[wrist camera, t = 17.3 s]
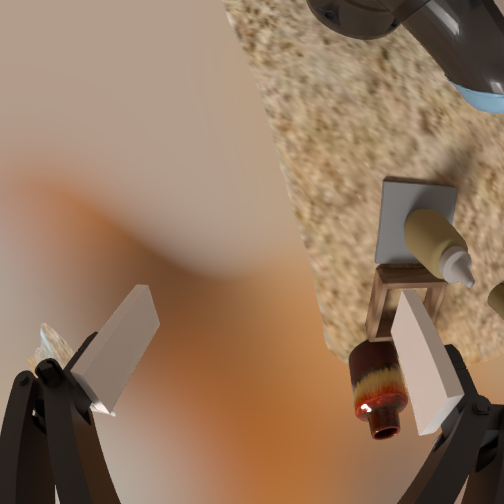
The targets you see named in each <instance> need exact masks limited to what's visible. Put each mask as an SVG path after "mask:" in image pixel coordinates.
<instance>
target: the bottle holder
mask: <svg viewBox="0 0 504 504" xmlns="http://www.w3.org/2000/svg"><path fill="white" fill-rule="evenodd" d="M447 284H448V282H447V281H446V280H445V279H439V278H437V277H435V276H434V275H433V274H432V273H431V272H430V271H429V270H428V269H427V268H376V271H375V277H374V283H373V288H372V293H371V299H370V304H369V309H368V313H367V318H366V322H365V327H366V331H367V335H368V339H369V342H379V341H394V340H393V337H392V334H391V329H392V325H393V322H394V320H381V321H380V318H381V314H382V310H383V306H384V302H385V297H386V293H387V289H399V288H428V289H427V293H426V296H425V300H424V303H423V305H424V307H425V309H426V311H427V313H428V314H429V316H430V318H431V320H432V322H433V324H434V322H435V320H436V317H437V314H438V311H439V309H440V306H441V303H442V300H443V297H444V294H445V290H446V287H447Z"/></svg>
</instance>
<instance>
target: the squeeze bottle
mask: <svg viewBox="0 0 504 504" xmlns="http://www.w3.org/2000/svg"><path fill="white" fill-rule="evenodd" d="M404 234H405V244H406V246H407V248H408V250H409V251H410V252H411V253H412V254H413V255H414V256H415V257H416V258H417V259H418V260H419V261H420V262H421V263H422V264H423V265H424V266H425V267H426V268H427V269H428V270H429V271H430V272H431V273H432V274H433V275H434V276H435V277H437V278H439V279H445V280H446V281H447V282H448V283H457V282H461V283H462V284H464V285H465V286H467V287H468V288H471V287H472V286H473V285H474V283H475V281H474V278H473V276H472V274H471V272H470V268H471V257H470V255H469V254H468V247H467V245H466V242H465V240H464V239H463V238H462V237H461V235H460V234H459V233H458V232H457V231H456V229H455V228H454V227H453V226H452V225H451V224H450V222H449V221H448V220H447V219H446V218H445V217H444V216H443V215H442V214H441V213H440V212H438V211H437V210H432V209H417V210H414V211H413V212H411V213H410V214H409V215H408V216H407V218H406V220H405V223H404Z"/></svg>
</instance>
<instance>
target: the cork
mask: <svg viewBox="0 0 504 504" xmlns="http://www.w3.org/2000/svg"><path fill="white" fill-rule="evenodd" d="M488 304H489V306H490V307H491V308H492V309H493V310H494V311H495V312H497V313H498V314H499V315H500V316H501V317H502V318H503V319H504V285H503V284H499V285H497V286H496V287H495V288H494V289H493V290H492V291H491V292H490V294H489V297H488Z"/></svg>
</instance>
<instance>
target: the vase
mask: <svg viewBox="0 0 504 504" xmlns="http://www.w3.org/2000/svg"><path fill="white" fill-rule="evenodd" d="M349 368H350V375H351V383H352V391H353V400H354V408H355V415H356V417H357V418H358V419H360V420H362V421H365V422H369V426H370V431H371V435H372V438H373V439H376V440H383V439H388V438H391V437H393V436H395V435H396V434H398V433H399V431H400V419H399V413H400V412H401V411H403V410H404V408H405V407H406V405H407V404H408V395H407V391H406V387H405V383H404V380H403V376H402V372H401V369H400V365H399V362H398V359H397V355H396V352H395V349H394V347H393V345H392V344H391V343H390V342H389V341H379V342H369V341H366V342H364V343H362V344H360V345H358V346H357V347H356V348H355V349H354V350H353V351H352V352H351V354H350V356H349Z"/></svg>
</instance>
